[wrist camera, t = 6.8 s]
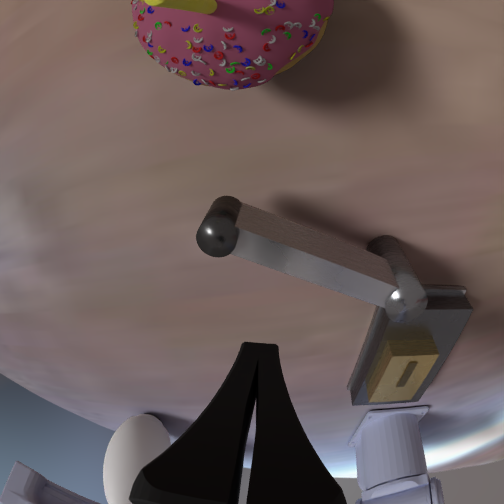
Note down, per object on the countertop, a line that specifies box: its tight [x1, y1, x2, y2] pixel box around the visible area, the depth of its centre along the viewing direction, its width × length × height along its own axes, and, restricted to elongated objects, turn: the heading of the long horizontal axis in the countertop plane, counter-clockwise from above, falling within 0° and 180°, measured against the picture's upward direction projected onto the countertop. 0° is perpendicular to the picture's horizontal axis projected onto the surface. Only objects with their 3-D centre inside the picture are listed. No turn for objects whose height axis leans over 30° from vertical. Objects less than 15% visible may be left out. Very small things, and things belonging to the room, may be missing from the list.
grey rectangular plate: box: [347, 285, 473, 405], centre depth 23 cm, size 13×7×2 cm, turn 179°
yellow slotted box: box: [366, 339, 439, 403], centre depth 21 cm, size 6×4×2 cm, turn 179°
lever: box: [196, 196, 428, 323], centre depth 17 cm, size 12×2×6 cm, turn 70°
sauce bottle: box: [103, 414, 171, 504], centre depth 28 cm, size 8×8×18 cm
